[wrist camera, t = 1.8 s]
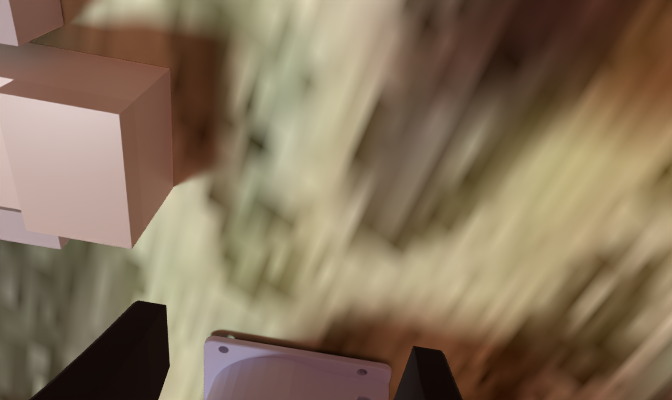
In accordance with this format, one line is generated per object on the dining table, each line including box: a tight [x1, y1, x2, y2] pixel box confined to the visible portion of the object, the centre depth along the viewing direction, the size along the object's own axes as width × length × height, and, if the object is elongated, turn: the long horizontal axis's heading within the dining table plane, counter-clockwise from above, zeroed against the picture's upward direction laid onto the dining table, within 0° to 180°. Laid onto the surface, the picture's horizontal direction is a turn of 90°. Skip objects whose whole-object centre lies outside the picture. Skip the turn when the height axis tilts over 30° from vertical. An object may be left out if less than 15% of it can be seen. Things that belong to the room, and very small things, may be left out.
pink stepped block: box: [0, 42, 174, 249], centre depth 17 cm, size 6×5×4 cm
